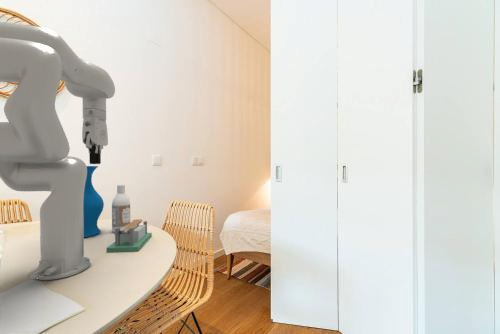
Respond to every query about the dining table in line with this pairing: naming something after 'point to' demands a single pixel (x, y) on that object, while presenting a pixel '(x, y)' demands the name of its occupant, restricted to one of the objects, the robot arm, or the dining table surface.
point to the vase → (91, 205)
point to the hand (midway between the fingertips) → (95, 163)
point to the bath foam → (120, 209)
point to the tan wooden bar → (132, 224)
